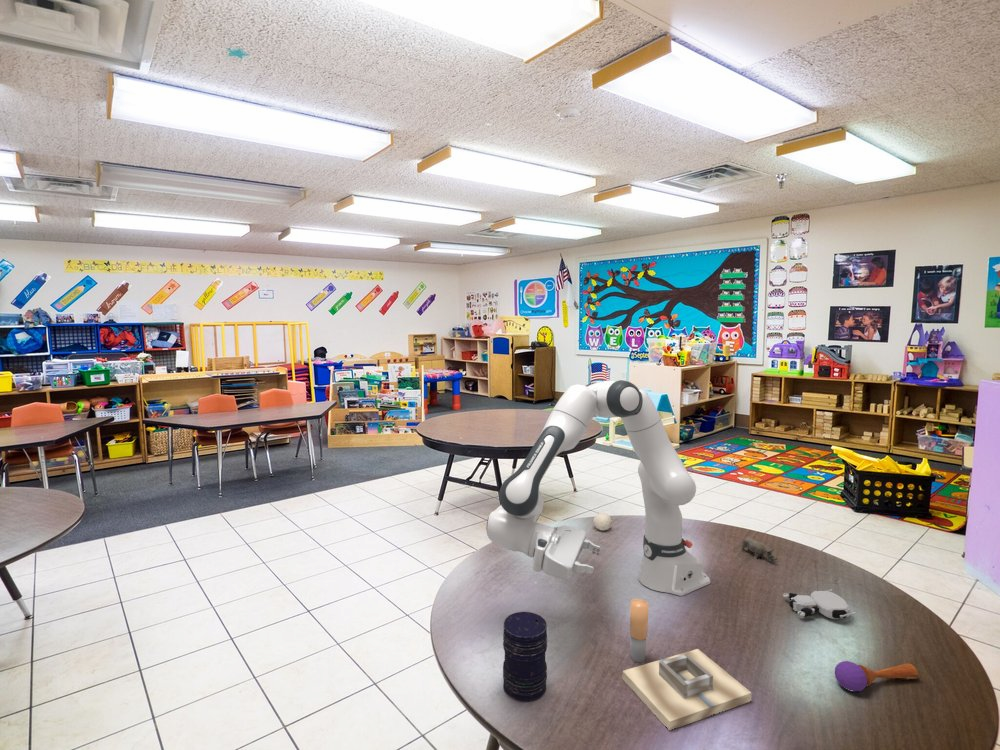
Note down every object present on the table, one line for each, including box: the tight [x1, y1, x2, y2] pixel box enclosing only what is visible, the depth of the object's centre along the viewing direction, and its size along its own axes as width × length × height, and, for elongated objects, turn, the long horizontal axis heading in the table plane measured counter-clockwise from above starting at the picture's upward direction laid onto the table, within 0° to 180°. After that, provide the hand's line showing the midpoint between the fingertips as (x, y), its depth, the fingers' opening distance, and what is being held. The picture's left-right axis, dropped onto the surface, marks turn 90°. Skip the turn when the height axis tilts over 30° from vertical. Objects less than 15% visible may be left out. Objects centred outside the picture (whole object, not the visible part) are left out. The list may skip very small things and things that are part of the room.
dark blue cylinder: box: [502, 611, 548, 703], centre depth 113 cm, size 10×10×15 cm
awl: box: [629, 598, 649, 663], centre depth 123 cm, size 4×4×14 cm
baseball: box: [592, 512, 612, 531], centre depth 201 cm, size 7×7×7 cm
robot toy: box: [782, 589, 857, 620], centre depth 143 cm, size 12×4×15 cm
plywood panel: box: [621, 648, 752, 731], centre depth 112 cm, size 22×16×5 cm
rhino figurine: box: [740, 536, 778, 563], centre depth 177 cm, size 4×14×6 cm, turn 23°
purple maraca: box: [834, 660, 919, 692], centre depth 115 cm, size 6×6×20 cm
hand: (596, 560), depth 127 cm, fingers open, 8 cm apart
